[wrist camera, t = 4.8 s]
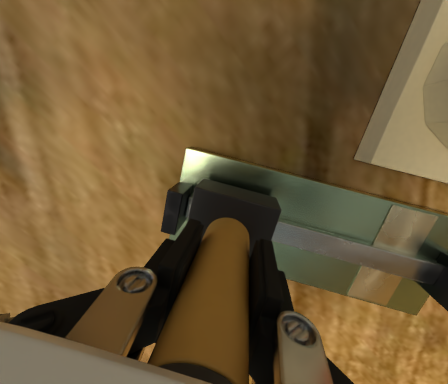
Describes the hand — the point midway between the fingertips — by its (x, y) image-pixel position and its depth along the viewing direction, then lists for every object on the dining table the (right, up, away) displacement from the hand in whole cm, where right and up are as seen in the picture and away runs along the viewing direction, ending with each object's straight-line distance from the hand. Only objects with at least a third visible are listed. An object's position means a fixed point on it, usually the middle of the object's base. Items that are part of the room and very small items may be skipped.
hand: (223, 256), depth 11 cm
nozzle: (0, 0, +6) cm, 6 cm away
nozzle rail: (+6, 0, +6) cm, 9 cm away
